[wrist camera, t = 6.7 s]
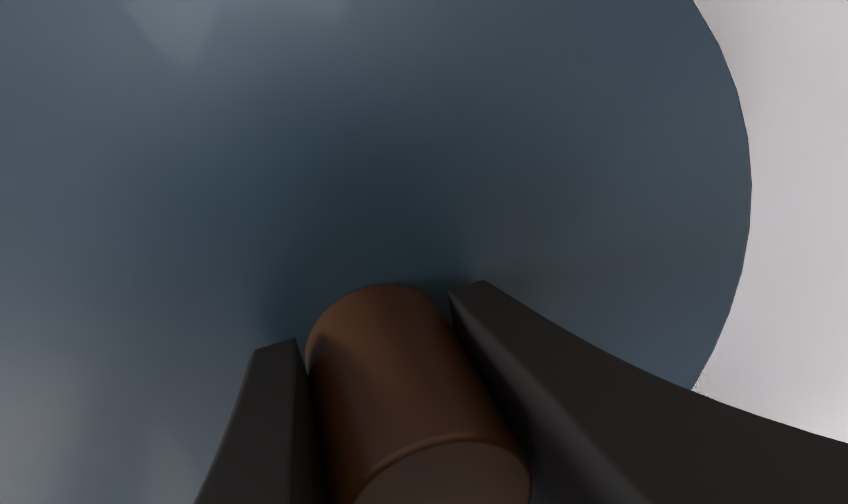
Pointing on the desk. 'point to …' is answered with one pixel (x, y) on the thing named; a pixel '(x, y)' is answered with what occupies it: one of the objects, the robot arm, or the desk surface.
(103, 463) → the lid
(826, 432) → the desk surface
